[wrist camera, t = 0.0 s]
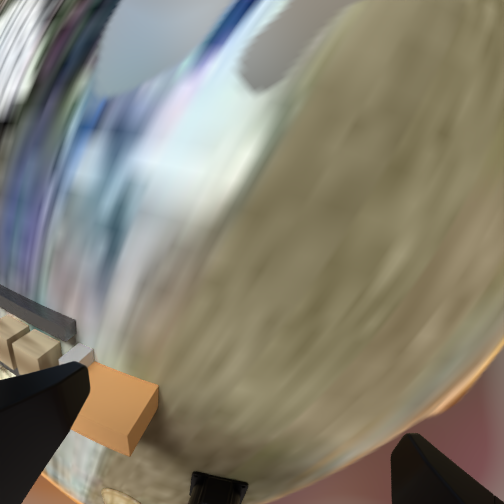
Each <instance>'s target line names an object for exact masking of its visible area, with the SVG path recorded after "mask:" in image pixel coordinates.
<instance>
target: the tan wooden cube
mask: <svg viewBox="0 0 504 504" xmlns="http://www.w3.org/2000/svg"><path fill="white" fill-rule="evenodd" d="M29 332H30V330H29V326H28V325H27V324H25V323H23V322H21V321H19V320H18V319H16V318H14V317H12V316H11V315H9V314H8V315H6V316H4V317H2V318H1V319H0V361H1V362H2V363H4V364H5V365H7V366H8V367H10V368H11V369H12V370H15V369H16V368H17V363H16V359H15V355H14V351H13V346H12V343H14V342H15V341H17V340H18V339H20V338H21V337H23V336H24V335H26V334H27V333H29Z"/></svg>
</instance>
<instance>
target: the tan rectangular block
mask: <svg viewBox="0 0 504 504" xmlns="http://www.w3.org/2000/svg"><path fill="white" fill-rule="evenodd" d="M58 360H59V365H61V364H65V363H68V362H72V361H77V362H79V363H81V364H84V365H86V366H87V368H88V371H89V379H90V387H91V389H90V394H89V396H88V398H87V399H86V401H85V403H84V405H83V407H82V409H81V411H80V412H79V414H78V416H77V418H76V420H75V422H74V424H73V426H72V427H71V430H73V431H75V432H77V433H79V434H81V435H83V436H85V437H87V438H89V439H91V440H93V441H95V442H97V443H99V444H101V445H103V446H106V447H108V448H110V449H112V450H115V451H117V452H119V453H122V454H124V455H126V456H129V457H130V456H131V454H132V453H133V451H134V449H135V447H136V446H137V444H138V442H139V440H140V438H141V437H142V435H143V433H144V431H145V430H146V428H147V426H148V424H149V423H150V421H151V419H152V417H153V416H154V414H155V412H156V410H157V408H158V389H159V385H156V384H153V383H150V382H147V381H144V380H141V379H139V378H136V377H133V376H130V375H128V374H125V373H122V372H120V371H117V370H115V369H112V368H110V367H107V366H105V365H102V364H100V363H97V362H95V361H94V352H93V348H90V347H88V346H85V345H83V344H81V343H78V344H76V345H75V346H74V347H73V348H72V349H70V350H69V351H68V352H67V353H66V354H64V355H63V356H62V357H61V358H60V359H58Z"/></svg>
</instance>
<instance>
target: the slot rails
mask: <svg viewBox="0 0 504 504" xmlns="http://www.w3.org/2000/svg"><path fill="white" fill-rule="evenodd" d="M0 307H2V308H3V309H5V310H7V311H8V312H10V313H12V314H13V315H15V316H17V317H19V318H21V319H22V320H24V321H26V322H28V323H30V324H32V325H33V326H35V327H37V328H39V329H41V330H43V331H45V332H47V333H49V334H51V335H53V336H55V337H57V338H59V339H61V340H63V341H67V340H68V339H70V338H71V337H72V336H74V335H75V334H76V324H75V320H74V319H72V318H69V317H67V316H65V315H62V314H60V313H58V312H55V311H53V310H51V309H49V308H47V307H44V306H42V305H40V304H38V303H36V302H34V301H32V300H30V299H28V298H25V297H23V296H21V295H19V294H17V293H16V292H14V291H12V290H10V289H8V288H6V287H4V286H2V285H0ZM0 364H1V365H2V366H3V367H5V368H6V369H7V370H9V371H10V372H12V373H13V374H15V375H16V376H20V374H19V371H18V367H17V368H16V369H15V370H12V369H11V368H10V367H8V366H7V365H5V364H4V363H2V362H1V361H0Z"/></svg>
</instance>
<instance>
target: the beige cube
mask: <svg viewBox="0 0 504 504" xmlns="http://www.w3.org/2000/svg"><path fill="white" fill-rule="evenodd" d="M12 346H13V351H14V355H15V359H16V363H17V367H18V371H19V374H20V375H24V374H27V373H31V372H35V371H39V370H43V369H47V368H50V367H54V366H58V365H59V360H58V359H60V358H61V357H62V353H61V346H60V341H57V340H55V339H53V338H51V337H49V336H47V335H45V334H43V333H42V332H40V331H38V330H36V329H34V330H32V331H30V332H29V333H27V334H26V335H24V336H23V337H21V338H20V339H18V340H17V341H15V342H14V343H12Z"/></svg>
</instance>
